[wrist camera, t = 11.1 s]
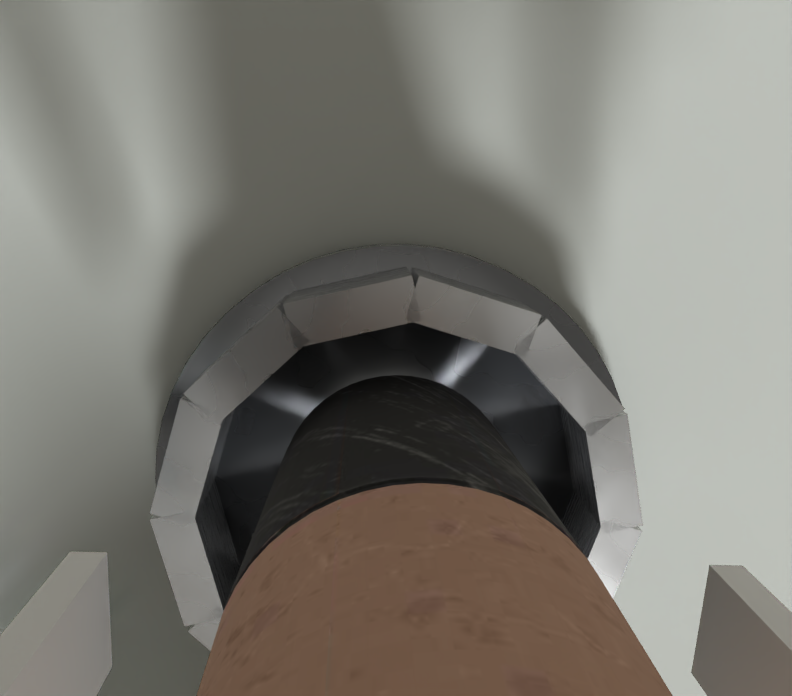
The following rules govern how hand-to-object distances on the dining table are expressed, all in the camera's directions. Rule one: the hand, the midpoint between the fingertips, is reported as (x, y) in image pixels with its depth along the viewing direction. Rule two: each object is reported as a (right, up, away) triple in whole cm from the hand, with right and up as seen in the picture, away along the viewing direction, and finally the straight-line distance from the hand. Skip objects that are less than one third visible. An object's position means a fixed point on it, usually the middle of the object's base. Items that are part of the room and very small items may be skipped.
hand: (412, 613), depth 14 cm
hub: (0, +2, +7) cm, 8 cm away
